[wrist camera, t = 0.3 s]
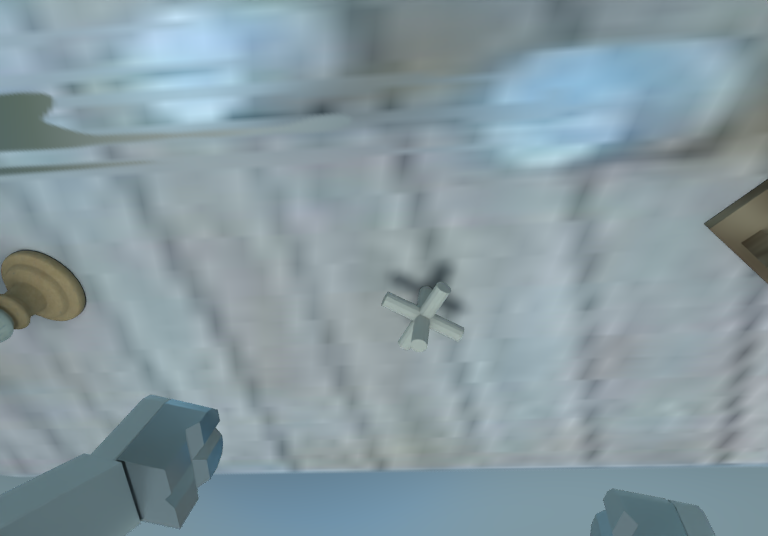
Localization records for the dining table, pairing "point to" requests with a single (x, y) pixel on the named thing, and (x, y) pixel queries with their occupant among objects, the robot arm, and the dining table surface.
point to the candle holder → (37, 291)
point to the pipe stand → (746, 229)
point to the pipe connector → (423, 317)
